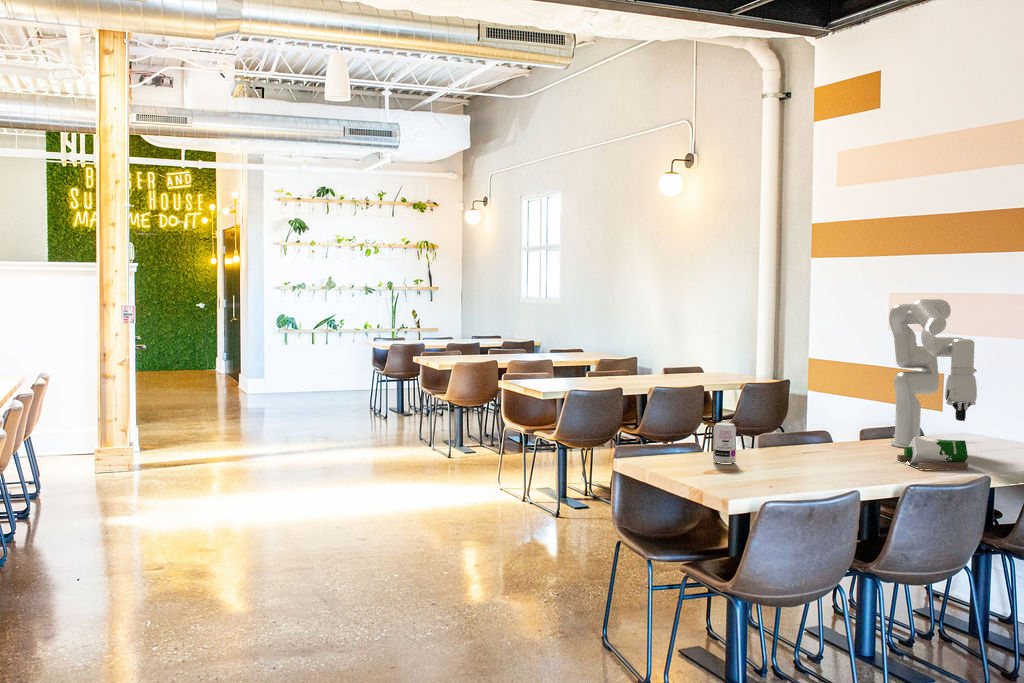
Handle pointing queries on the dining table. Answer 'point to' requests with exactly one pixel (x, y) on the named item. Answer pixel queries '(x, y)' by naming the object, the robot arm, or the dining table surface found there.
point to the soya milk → (936, 450)
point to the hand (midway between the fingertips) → (960, 420)
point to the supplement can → (724, 443)
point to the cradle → (935, 464)
